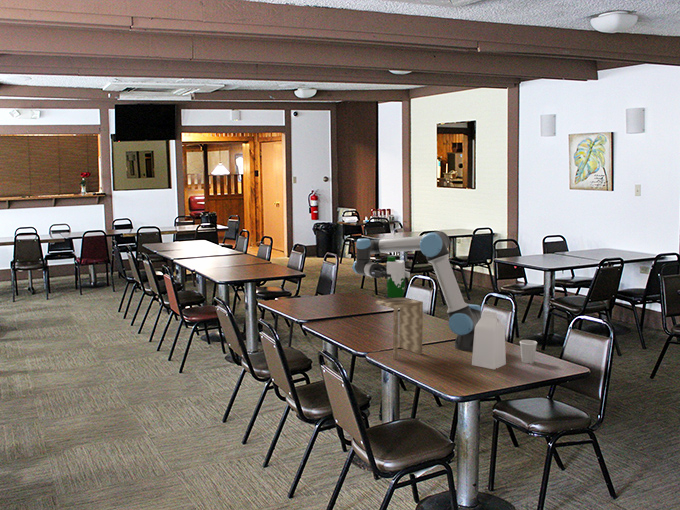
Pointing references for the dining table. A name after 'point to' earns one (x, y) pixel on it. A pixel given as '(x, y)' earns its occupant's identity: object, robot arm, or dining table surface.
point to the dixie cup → (528, 350)
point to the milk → (489, 342)
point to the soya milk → (395, 285)
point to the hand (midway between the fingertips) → (403, 275)
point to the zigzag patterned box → (406, 323)
